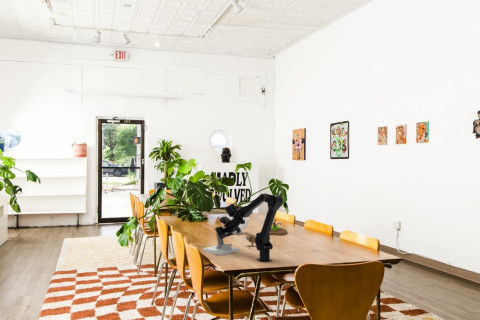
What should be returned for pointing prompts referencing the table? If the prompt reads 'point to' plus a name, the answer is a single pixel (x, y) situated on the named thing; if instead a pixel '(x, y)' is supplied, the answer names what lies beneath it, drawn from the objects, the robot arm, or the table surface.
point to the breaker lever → (219, 241)
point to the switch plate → (221, 249)
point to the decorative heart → (241, 224)
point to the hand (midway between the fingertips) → (221, 238)
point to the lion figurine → (251, 238)
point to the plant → (277, 230)
